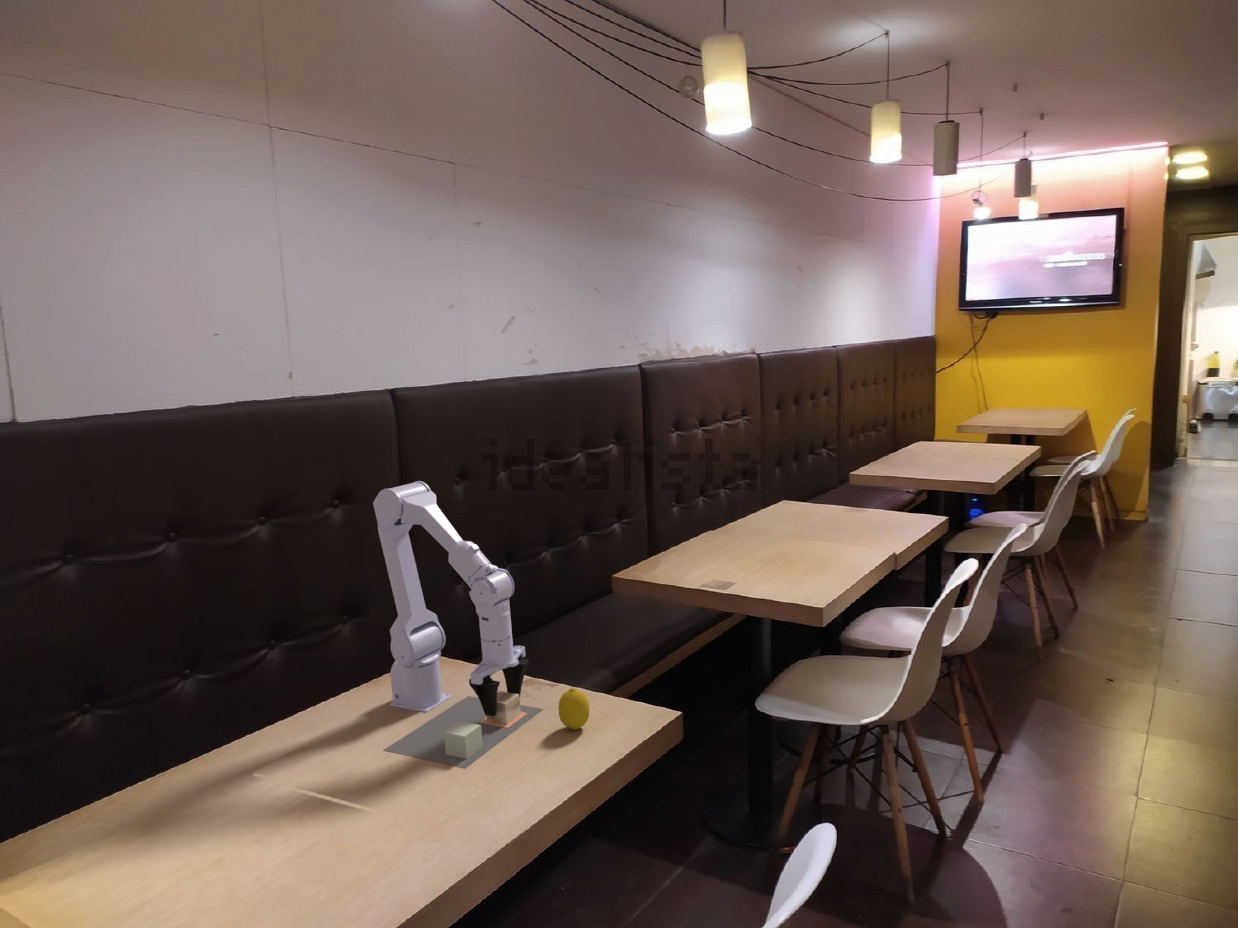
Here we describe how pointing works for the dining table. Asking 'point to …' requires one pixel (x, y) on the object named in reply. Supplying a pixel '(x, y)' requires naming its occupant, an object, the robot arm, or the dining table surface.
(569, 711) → the lemon
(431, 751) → the grey mat
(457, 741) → the sage block
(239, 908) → the dining table surface
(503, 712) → the cream block
